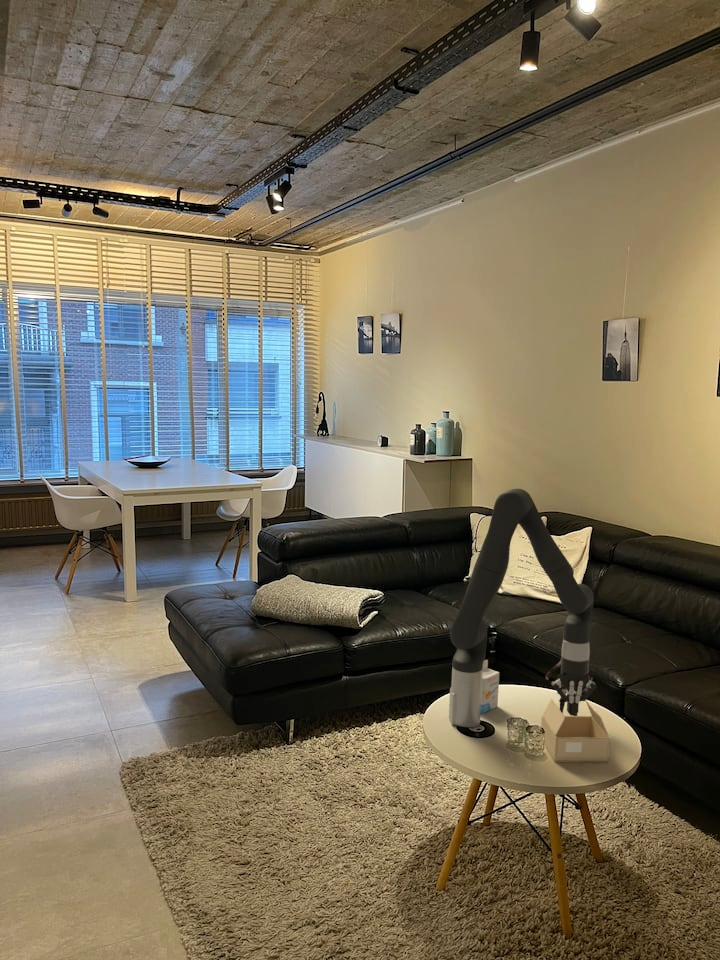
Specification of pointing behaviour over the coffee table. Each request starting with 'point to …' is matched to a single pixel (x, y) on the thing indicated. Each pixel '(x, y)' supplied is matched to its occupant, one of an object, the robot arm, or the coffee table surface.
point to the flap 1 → (554, 717)
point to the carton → (577, 740)
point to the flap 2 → (596, 717)
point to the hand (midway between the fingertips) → (572, 714)
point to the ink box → (489, 688)
